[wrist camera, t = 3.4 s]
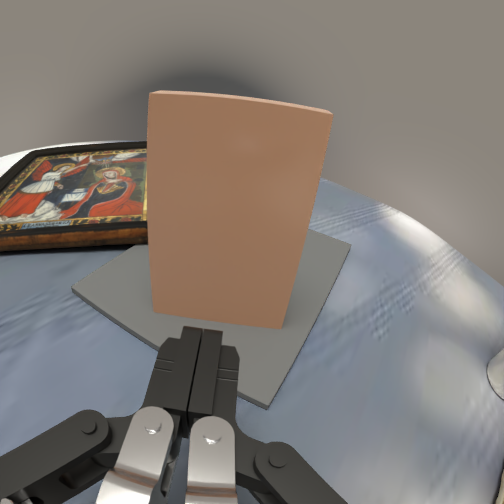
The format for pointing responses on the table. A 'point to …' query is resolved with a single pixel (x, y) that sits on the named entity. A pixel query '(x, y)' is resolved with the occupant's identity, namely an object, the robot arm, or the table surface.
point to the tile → (229, 203)
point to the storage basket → (501, 492)
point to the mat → (241, 336)
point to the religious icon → (75, 197)
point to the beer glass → (497, 373)
